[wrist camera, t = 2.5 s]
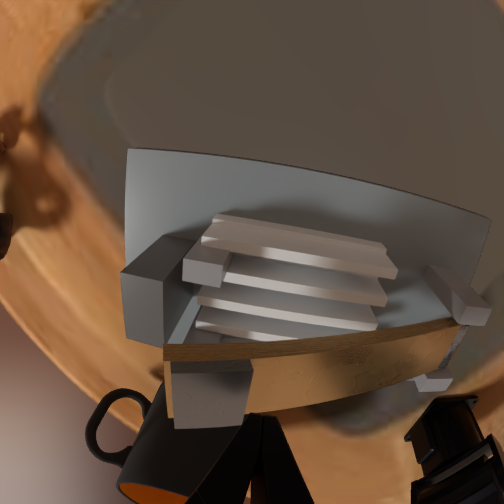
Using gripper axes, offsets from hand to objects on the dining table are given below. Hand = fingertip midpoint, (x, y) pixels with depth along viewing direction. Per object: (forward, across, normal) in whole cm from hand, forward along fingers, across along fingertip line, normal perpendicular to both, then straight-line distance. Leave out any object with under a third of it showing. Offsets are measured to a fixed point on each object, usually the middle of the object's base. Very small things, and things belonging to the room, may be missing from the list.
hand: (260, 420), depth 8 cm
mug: (+10, +5, +13) cm, 18 cm away
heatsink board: (+10, -2, 0) cm, 10 cm away
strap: (+4, -3, 0) cm, 5 cm away
